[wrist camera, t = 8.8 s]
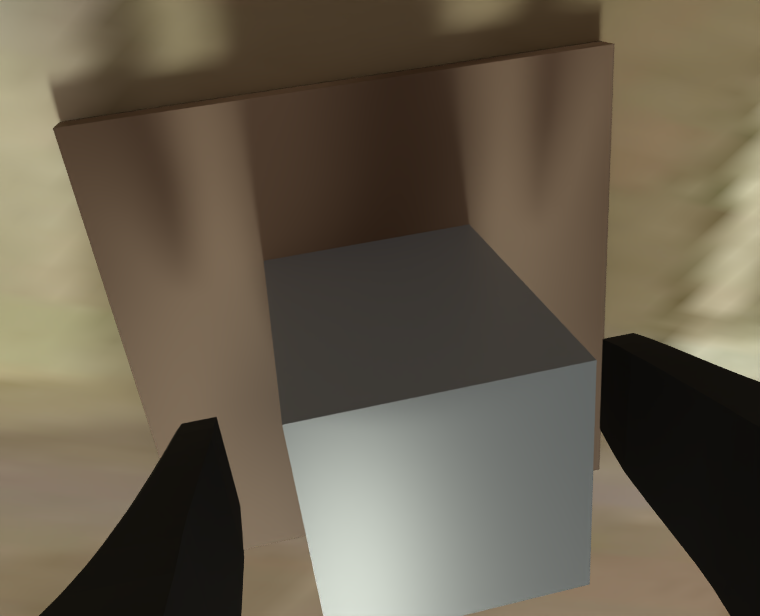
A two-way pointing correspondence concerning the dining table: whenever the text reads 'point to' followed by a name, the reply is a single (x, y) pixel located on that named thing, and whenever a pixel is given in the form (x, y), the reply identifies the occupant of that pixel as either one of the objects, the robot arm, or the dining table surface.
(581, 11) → the dining table surface
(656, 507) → the robot arm
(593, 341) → the post board
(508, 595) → the grey rectangular block
